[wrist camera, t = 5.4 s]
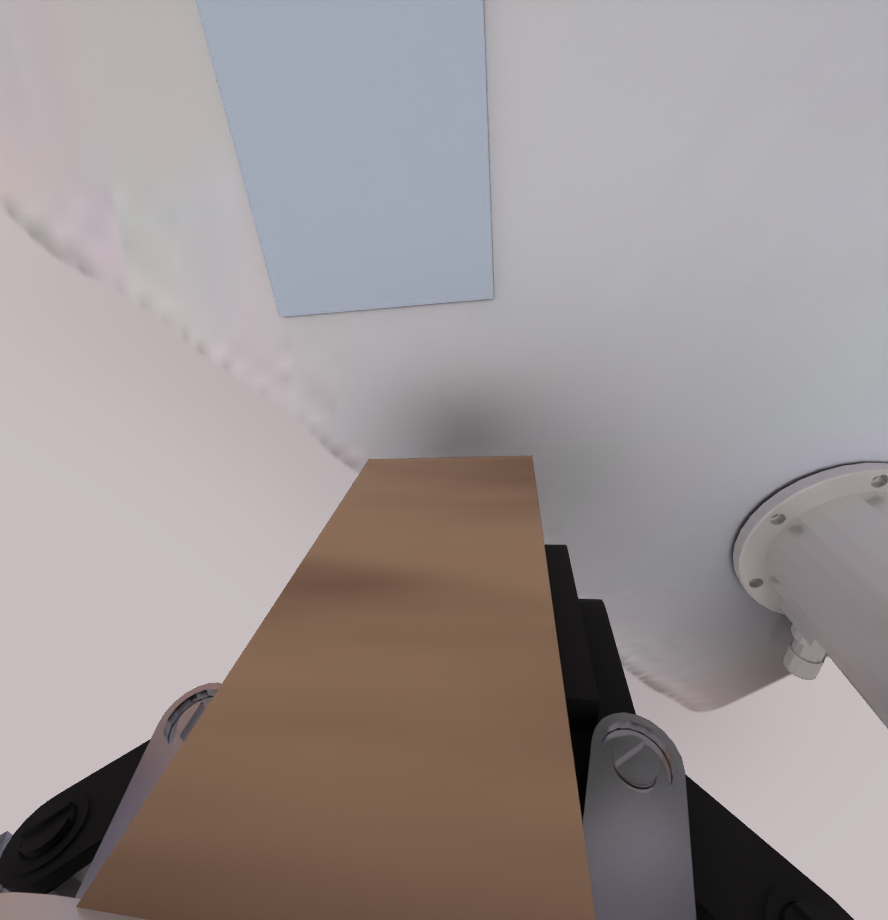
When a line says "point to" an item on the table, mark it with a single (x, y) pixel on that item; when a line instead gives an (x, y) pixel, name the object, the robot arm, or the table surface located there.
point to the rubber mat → (360, 146)
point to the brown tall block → (381, 729)
